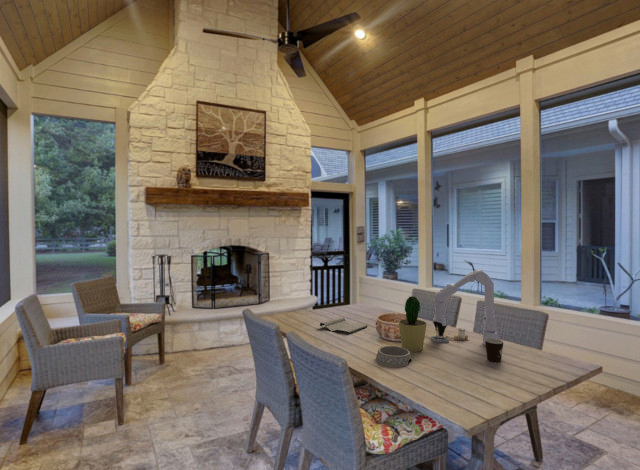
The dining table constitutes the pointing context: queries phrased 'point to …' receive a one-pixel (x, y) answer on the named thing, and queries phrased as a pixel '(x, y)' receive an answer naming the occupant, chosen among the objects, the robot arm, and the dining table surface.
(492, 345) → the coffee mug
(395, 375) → the dining table surface
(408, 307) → the potted cactus
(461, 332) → the cylinder
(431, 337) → the tray
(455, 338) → the fuse holder
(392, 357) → the dog bowl
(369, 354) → the dining table surface
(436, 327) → the cylinder
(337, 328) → the mat
